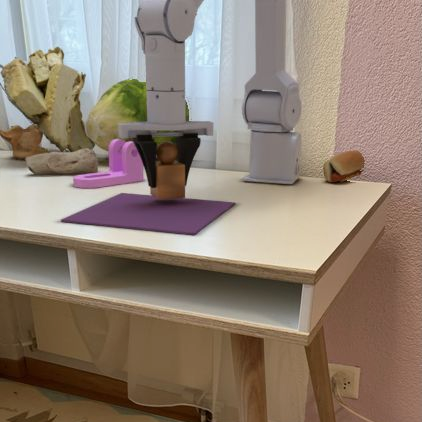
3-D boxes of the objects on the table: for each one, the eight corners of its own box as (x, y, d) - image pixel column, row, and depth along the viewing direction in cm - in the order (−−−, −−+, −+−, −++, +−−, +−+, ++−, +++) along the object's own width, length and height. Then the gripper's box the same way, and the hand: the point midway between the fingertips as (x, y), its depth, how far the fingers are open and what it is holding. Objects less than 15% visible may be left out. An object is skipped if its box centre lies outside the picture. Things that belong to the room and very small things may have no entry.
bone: (47, 154, 143) (44, 116, 139) (64, 159, 136) (62, 119, 132) (-4, 156, 136) (-8, 116, 132) (12, 162, 129) (8, 119, 125)
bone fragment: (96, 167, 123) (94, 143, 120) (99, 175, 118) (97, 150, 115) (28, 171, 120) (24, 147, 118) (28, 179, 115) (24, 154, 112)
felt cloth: (235, 204, 97) (235, 202, 97) (194, 235, 80) (194, 232, 80) (121, 194, 102) (121, 192, 102) (61, 221, 85) (60, 219, 85)
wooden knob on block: (176, 192, 98) (175, 138, 94) (185, 197, 95) (185, 142, 91) (150, 194, 97) (148, 139, 93) (158, 199, 93) (157, 143, 89)
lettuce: (91, 184, 132) (60, 110, 131) (176, 167, 145) (148, 100, 144) (122, 145, 118) (87, 62, 117) (214, 130, 130) (183, 55, 129)
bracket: (125, 176, 117) (124, 138, 114) (143, 180, 114) (142, 141, 110) (67, 184, 109) (64, 143, 106) (84, 189, 106) (81, 147, 102)
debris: (92, 153, 149) (132, 115, 145) (73, 175, 123) (122, 130, 119) (13, 62, 139) (54, 19, 135) (-26, 64, 113) (24, 12, 109)
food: (365, 143, 121) (375, 166, 121) (342, 158, 124) (352, 180, 125) (337, 151, 110) (349, 176, 111) (313, 166, 114) (325, 190, 115)
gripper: (202, 88, 94) (201, 178, 101) (110, 89, 89) (116, 183, 96) (219, 91, 88) (217, 186, 95) (122, 91, 84) (127, 192, 90)
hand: (167, 185), depth 95 cm, fingers closed on wooden knob on block, 4 cm apart
